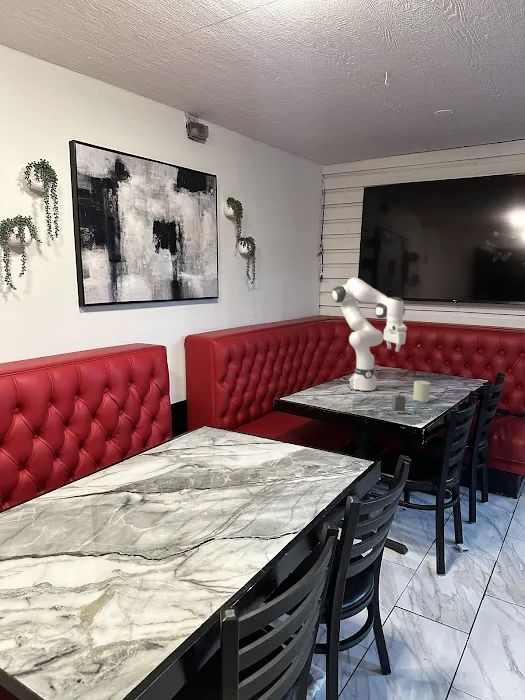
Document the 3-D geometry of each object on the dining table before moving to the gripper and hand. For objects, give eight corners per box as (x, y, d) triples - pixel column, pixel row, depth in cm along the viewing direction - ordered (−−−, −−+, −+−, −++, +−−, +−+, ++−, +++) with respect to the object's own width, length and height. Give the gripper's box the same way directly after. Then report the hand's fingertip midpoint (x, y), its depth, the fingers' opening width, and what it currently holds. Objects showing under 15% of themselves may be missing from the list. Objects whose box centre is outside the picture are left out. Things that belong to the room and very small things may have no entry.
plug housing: (391, 409, 249) (392, 391, 248) (401, 408, 250) (402, 391, 249) (394, 411, 245) (395, 393, 244) (404, 411, 246) (406, 393, 245)
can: (409, 400, 273) (410, 380, 271) (420, 398, 277) (422, 379, 275) (420, 404, 265) (421, 383, 263) (432, 402, 269) (433, 382, 267)
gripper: (381, 324, 269) (380, 347, 271) (397, 328, 249) (396, 353, 251) (391, 324, 270) (389, 347, 272) (408, 327, 250) (407, 352, 252)
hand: (393, 350), depth 261 cm, fingers open, 8 cm apart
